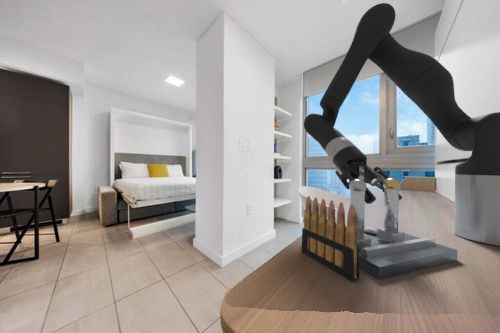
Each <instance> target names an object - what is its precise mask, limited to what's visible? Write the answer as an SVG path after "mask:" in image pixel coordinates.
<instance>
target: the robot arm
mask: <svg viewBox="0 0 500 333" xmlns="http://www.w3.org/2000/svg"><path fill="white" fill-rule="evenodd" d="M395 21H396V11H395V8H394V7H393V5H391V4H390V3H388V2H382V3H377V4H375V5H373V6H371V7H369V9H367V11H365V12H364V14H363V15H362V17H360V20H359V21H358V24H357V26H356V30H355V32H354V36H353V39H352V41H351V43H350V46H349V48H348V50H347V52H346V54H345V57H344V59H343V61H342V62H341V64H340V66H339V67H338V69H337V71H336V72H335V74H334V76H333V78H332V80H331V81H330V83H329V85H328V87H327V88H326V90H325V91H324V93H323V96H322V97H321V100H320V102H319V107H321V109H322V114H320V113H317V112H313V113H310V114H308V115H307V116H306V117H305V118H304V121H303V127H304V128H303V129H304V130H305V132H306V133H307V134H308V135H309V136H310V137H311V138H313V139H314V140H315V141H316V142H317V143H318V144H319V145H320V147H321V148H322V149H323V151H325V154H326V155H327V157H328V158H329V160H331V162H332V163H333V165H334V166H335V167H336V168H337V169H336V170H335V175H336V176H337V177H338V179H339V180H340V182H341V183H342V185H343V186H344V187H345V189H346V190H350V188H349V184H350V182H351V181H352V180H355V179H360V180H362V181H364V182H365V183H366V184H368V185H370V186H371V187H377V188H378V189H380V190H381V191H382V192H383V193H384V187H383V182H384V181H385V180H386V179H388V178H391V177H390V176H389V175H388V174H387V173H386V172H385V171H383V169H382V168H380V166H375V167H371V166H369V165H368V164H367V162H368V157H367V155H365V154H364V152H362V151H361V150H360V148H358V147H357V146H356V145H355V144H354V143H353V142H352V141H351V140H350V139H349V138H347V137H346V136H344V135H343V133H341V132H340V131H339V130H338V129H337V128H335V125H336V122H337V118H338V116H339V112H340V109H341V107H342V105H343V104H344V102H345V100H346V98H347V97H348V96H349V93H350V92H351V90H352V89H353V87H354V85H355V82H356V81H357V78H358V77H359V75H360V73H361V71H362V70H363V68H364V66H365V64H366V63H367V61H368V60H370V61H371V62H372V63H373V64H375V65H376V66H377V67H378V68H379V69H380V70H381V71H382V72H383V73H384V74H385V75H386V77H388V78H389V80H391V82H393V83H394V85H396V86H397V88H398V89H399V90H400V91H401V92H402V93H403V94H404V95H405V96H407V98H408V99H409V100H410V101H412V102H413V104H415V105H416V106H417V107H418V108H419V109H420V110H421V111H422V113H424V115H426V116H427V117H428V119H429V120H430V121H431V122H432V123H433V125H434V126H435V127H436V129H437V130H438V131H439V132H440V134H441V136H442V137H443V138H444V139H445V141H446V142H448V144H449V145H450V146H452V148H454V149H456V150H457V151H462V152H471V155H469V157H468V158H467V159H466V160H465V161H463V162H460V163H458V164H456V165H455V169H454V173H455V174H454V227H453V228H454V234H455V235H456V236H458V237H461V238H464V239H467V240H470V241H474V242H478V243H481V244H488V245H493V246H500V112H491V113H487V114H483V115H479V116H476V117H471V116H470V115H469V114H468V113H466V112H465V111H464V110H463V109H462V108H460V106H459V104H458V103H457V101H456V97H455V85H454V84H455V83H454V79H453V78H454V77H453V76H452V74H451V72H450V71H449V70H448V69H447V68H446V67H445V66H444V65H443V64H442V63H440V62H439V61H438V60H437V59H436V58H434V56H431V55H428V54H427V53H423V52H420V51H416V50H412V49H410V48H407V47H405V46H403V45H402V44H400V43H399V42H398V41H397V40H396V39H395V38H394V37H393V36H392V34H391V33H390V32H391V31H392V28H393V27H394V24H395ZM348 180H349V182H348ZM376 199H377V198H376V196H375V195H374V194H373V193H372V191H371V190H370V189H369V188H368V187H367V188H366V190H365V204H367V205H369V204H373V203H374V202H375V201H376ZM402 199H403V196H402V195H401V194H400V193H399V201H401V200H402Z"/></svg>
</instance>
